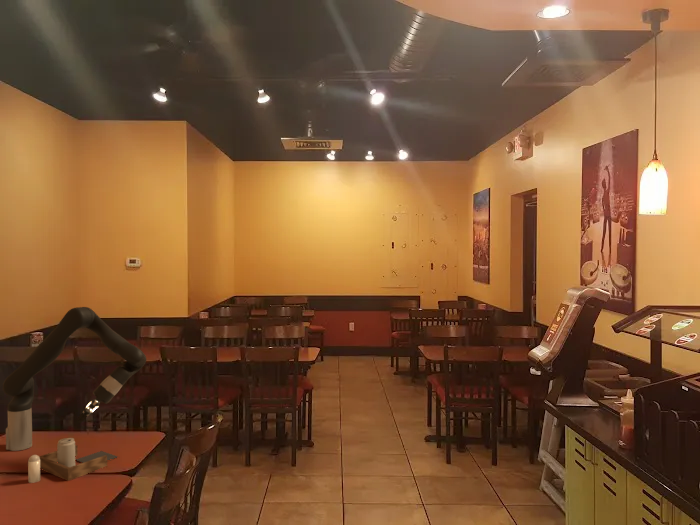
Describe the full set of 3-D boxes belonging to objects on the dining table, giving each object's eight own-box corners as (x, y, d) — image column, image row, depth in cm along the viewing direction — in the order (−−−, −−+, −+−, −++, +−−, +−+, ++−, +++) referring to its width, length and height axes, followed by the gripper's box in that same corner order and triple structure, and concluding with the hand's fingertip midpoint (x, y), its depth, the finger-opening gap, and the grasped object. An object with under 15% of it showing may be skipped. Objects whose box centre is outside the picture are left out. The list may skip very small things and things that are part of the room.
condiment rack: (75, 455, 238) (75, 445, 238) (107, 466, 225) (106, 455, 225) (37, 467, 224) (37, 456, 224) (68, 480, 212) (68, 469, 212)
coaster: (101, 451, 242) (101, 450, 242) (118, 457, 235) (118, 456, 235) (75, 460, 232) (75, 459, 232) (91, 466, 225) (91, 465, 225)
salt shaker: (26, 483, 210) (26, 457, 209) (31, 478, 214) (30, 453, 213) (37, 482, 210) (37, 456, 210) (42, 478, 214) (41, 452, 214)
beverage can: (68, 473, 219) (67, 443, 219) (53, 471, 220) (53, 441, 220) (79, 466, 225) (78, 437, 225) (65, 465, 227) (64, 436, 226)
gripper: (100, 384, 236) (71, 415, 229) (100, 383, 223) (69, 416, 217) (114, 395, 237) (86, 426, 231) (115, 395, 225) (84, 428, 218)
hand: (78, 421), depth 224 cm, fingers open, 8 cm apart
